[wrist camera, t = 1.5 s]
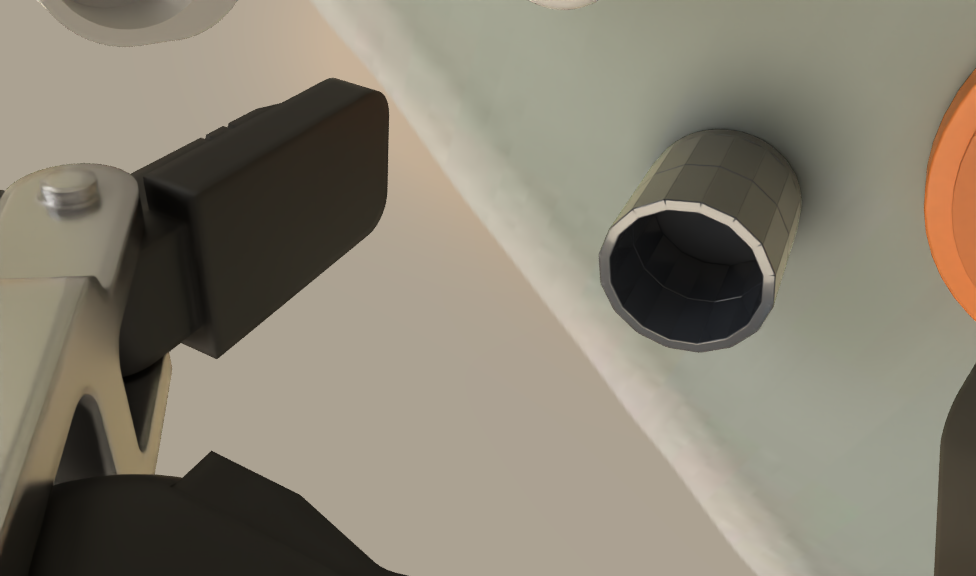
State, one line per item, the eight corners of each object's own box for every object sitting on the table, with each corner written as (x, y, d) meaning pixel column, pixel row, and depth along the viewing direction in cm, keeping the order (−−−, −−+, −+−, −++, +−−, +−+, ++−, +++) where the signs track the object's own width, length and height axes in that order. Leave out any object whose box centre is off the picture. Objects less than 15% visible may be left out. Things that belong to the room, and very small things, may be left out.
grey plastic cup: (627, 226, 34) (578, 304, 29) (680, 103, 30) (632, 171, 26) (759, 288, 33) (728, 378, 28) (831, 168, 29) (808, 251, 25)
